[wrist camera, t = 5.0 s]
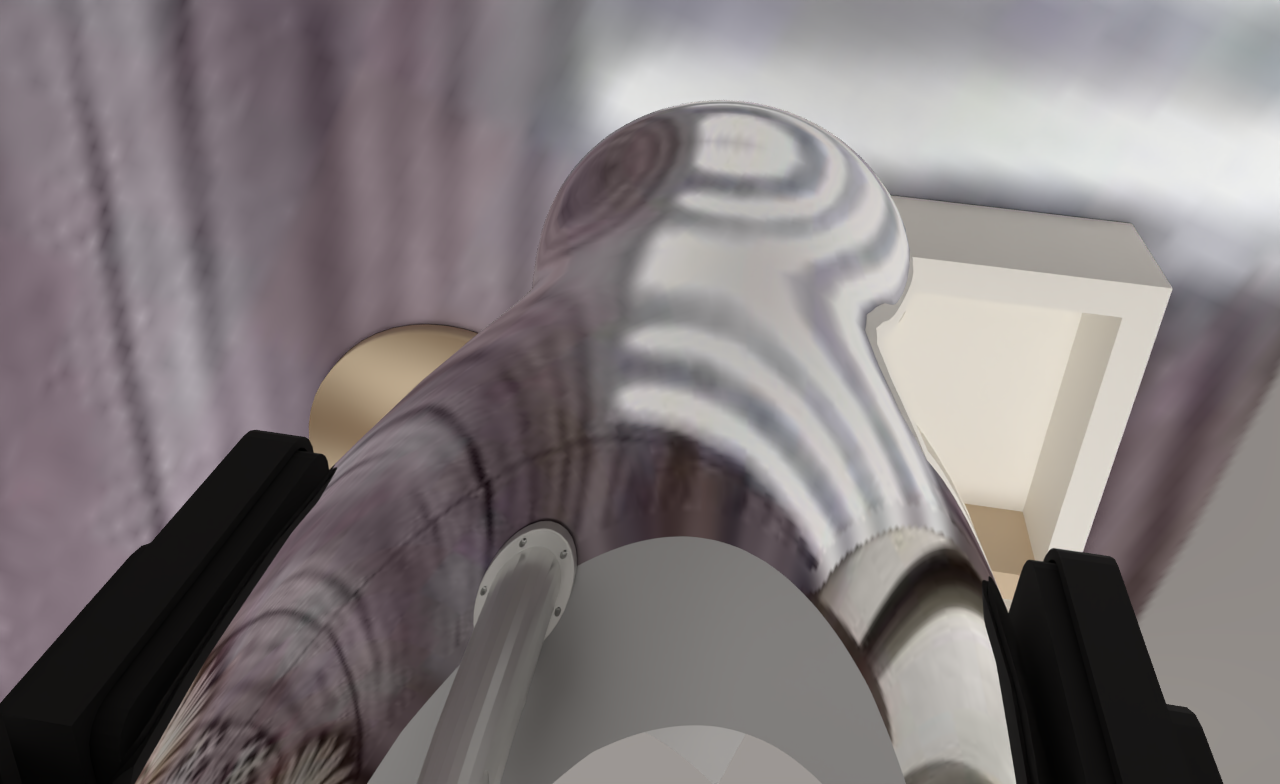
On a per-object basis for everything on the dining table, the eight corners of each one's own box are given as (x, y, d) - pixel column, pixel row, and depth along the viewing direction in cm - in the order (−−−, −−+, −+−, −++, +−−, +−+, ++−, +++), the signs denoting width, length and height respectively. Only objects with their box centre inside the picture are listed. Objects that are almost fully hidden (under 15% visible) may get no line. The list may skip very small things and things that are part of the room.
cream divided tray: (781, 182, 35) (774, 239, 31) (1131, 223, 34) (1172, 288, 30) (711, 681, 45) (699, 772, 41) (976, 723, 44) (990, 820, 40)
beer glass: (667, -30, 16) (-6, 817, 3) (1037, 243, 17) (1623, 1673, 4) (443, 316, 20) (-323, 1408, 7) (766, 526, 21) (647, 1807, 8)
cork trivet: (307, 307, 39) (297, 317, 39) (587, 344, 38) (583, 355, 38) (327, 534, 44) (319, 547, 44) (576, 572, 43) (571, 585, 43)
